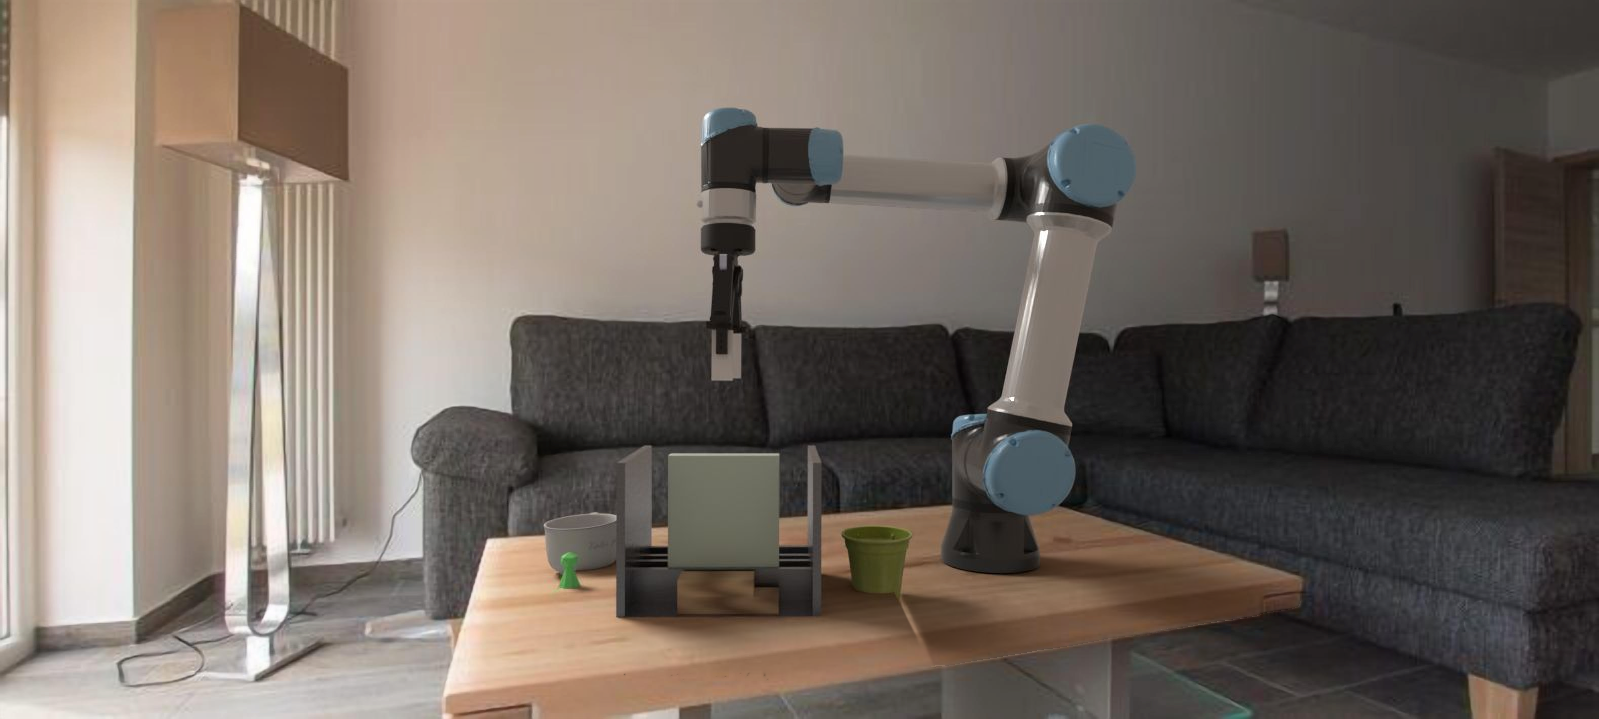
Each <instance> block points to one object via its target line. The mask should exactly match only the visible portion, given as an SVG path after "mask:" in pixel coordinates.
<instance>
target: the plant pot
mask: <svg viewBox="0 0 1599 719" xmlns="http://www.w3.org/2000/svg"><path fill="white" fill-rule="evenodd" d="M840 533H841V537H842V538H843V539H844V544H845V548H846V550H847V556H848V562H849V569H850V575H851V576H850V577H851V582H852V585H851V586H852V588H853V589H855V590H856V591H859V592H861V593H868V594H889V593H894V594H895V596H896V599H897V600H900V598H901V592H902V591H901V590H902V585H903V576H904V570H905V561H906V554H907V550H908V548H909V545H910V540H911V539H913V533H912V531H910V530H908V529H906V528H902V527H896V526H891V525H890V526H889V525H862V526H861V525H859V526H854V527H847V528H846V529H843V530H842V531H841V532H840Z"/></svg>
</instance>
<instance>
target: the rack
mask: <svg viewBox="0 0 1599 719" xmlns="http://www.w3.org/2000/svg"><path fill="white" fill-rule="evenodd" d="M652 448H653V446H652V445H643V446H641V447H639V448H638V449H637V450H635V451H633V452H632V453H630V454H629V455H627V456H625V457H624V458H622V459H621V460H619V461H617V462H616V491H615V492H616V496H615V497H616V501H615V502H616V504H615V505H616V511H615V512H616V514H615V515H616V560H615V561H616V565H615V567H616V568H615V570H616V572H615V574H616V575H615V576H616V577H615V579H616V580H615V586H616V587H615V588H616V589H615V590H616V591H615V592H616V593H615V606H616V607H615V618H731V617H732V618H738V617H739V618H743V617H744V618H750V617H751V618H752V617H753V618H758V617H759V618H760V617H761V618H766V617H769V618H770V617H771V618H772V617H775V618H777V617H778V618H779V617H781V618H782V617H785V618H787V617H789V618H790V617H793V618H794V617H796V618H797V617H802V618H803V617H804V618H805V617H806V618H807V617H822V482H823V480H822V478H823V477H822V474H823V473H822V469H823V468H822V460H821V458H820V456H819V452H818V450H817V446H816V445H807V545H805V544H803V545H801V544H799V545H798V544H797V545H794V544H793V545H791V544H789V545H787V544H785V545H784V544H783V545H782V544H781V545H780V544H779V567H668V545H652V544H653V543H652V542H653V540H652V535H653V534H652V533H653V532H652V528H653V524H652V519H653V517H652V516H653V514H652V512H653V511H652V510H653V506H652V503H653V502H652V500H653V498H652V496H653V489H652V487H653V486H652V484H653V482H652V480H653V478H652V477H653V476H652V474H653V469H652V468H653V467H652V466H653V464H652V462H653V460H652V459H653V458H652V455H653V449H652ZM682 571H755V587H779V614H677V580H678V578H679V576H680V574H681V572H682Z"/></svg>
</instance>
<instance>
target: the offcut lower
mask: <svg viewBox="0 0 1599 719" xmlns="http://www.w3.org/2000/svg"><path fill="white" fill-rule="evenodd" d="M677 614H779V587H755V588H754V596H753V597H677Z"/></svg>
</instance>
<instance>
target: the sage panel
mask: <svg viewBox="0 0 1599 719" xmlns="http://www.w3.org/2000/svg"><path fill="white" fill-rule="evenodd" d="M779 545H780V453H779V452H778V453H775V452H774V453H769V452H768V453H767V452H766V453H763V452H762V453H760V452H759V453H755V452H754V453H752V452H751V453H749V452H748V453H746V452H745V453H736V452H735V453H730V452H729V453H725V452H724V453H712V452H711V453H708V452H705V453H703V452H702V453H701V452H700V453H699V452H698V453H697V452H696V453H692V452H691V453H680V452H679V453H678V452H677V453H674V452H673V453H670V454H668V456H667V546H668V567H779Z"/></svg>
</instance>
